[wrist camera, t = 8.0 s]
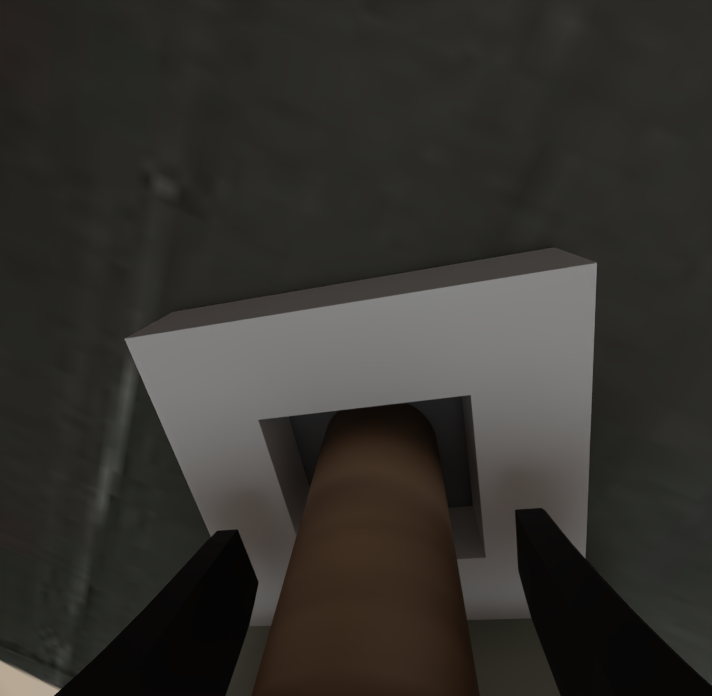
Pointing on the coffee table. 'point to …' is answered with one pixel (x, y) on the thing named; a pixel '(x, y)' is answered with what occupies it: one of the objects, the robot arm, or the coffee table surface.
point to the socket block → (389, 386)
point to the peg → (372, 571)
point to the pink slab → (490, 652)
